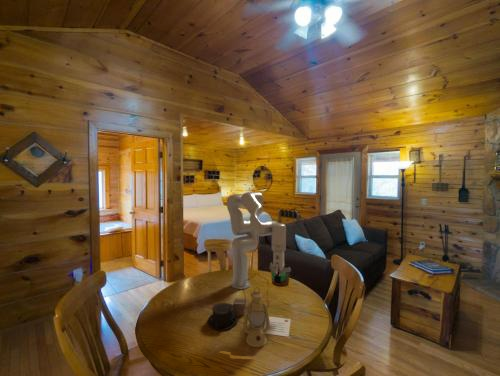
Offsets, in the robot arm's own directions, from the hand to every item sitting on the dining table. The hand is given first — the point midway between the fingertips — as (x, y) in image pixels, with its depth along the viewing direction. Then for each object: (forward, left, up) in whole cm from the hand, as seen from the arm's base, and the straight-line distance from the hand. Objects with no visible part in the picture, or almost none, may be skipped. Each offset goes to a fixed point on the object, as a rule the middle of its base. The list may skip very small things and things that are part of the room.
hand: (278, 280), depth 131 cm
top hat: (+15, -26, -18) cm, 35 cm away
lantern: (+26, -6, -17) cm, 32 cm away
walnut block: (+5, -20, -17) cm, 27 cm away
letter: (+13, +1, -17) cm, 22 cm away
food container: (+1, 0, -2) cm, 3 cm away
